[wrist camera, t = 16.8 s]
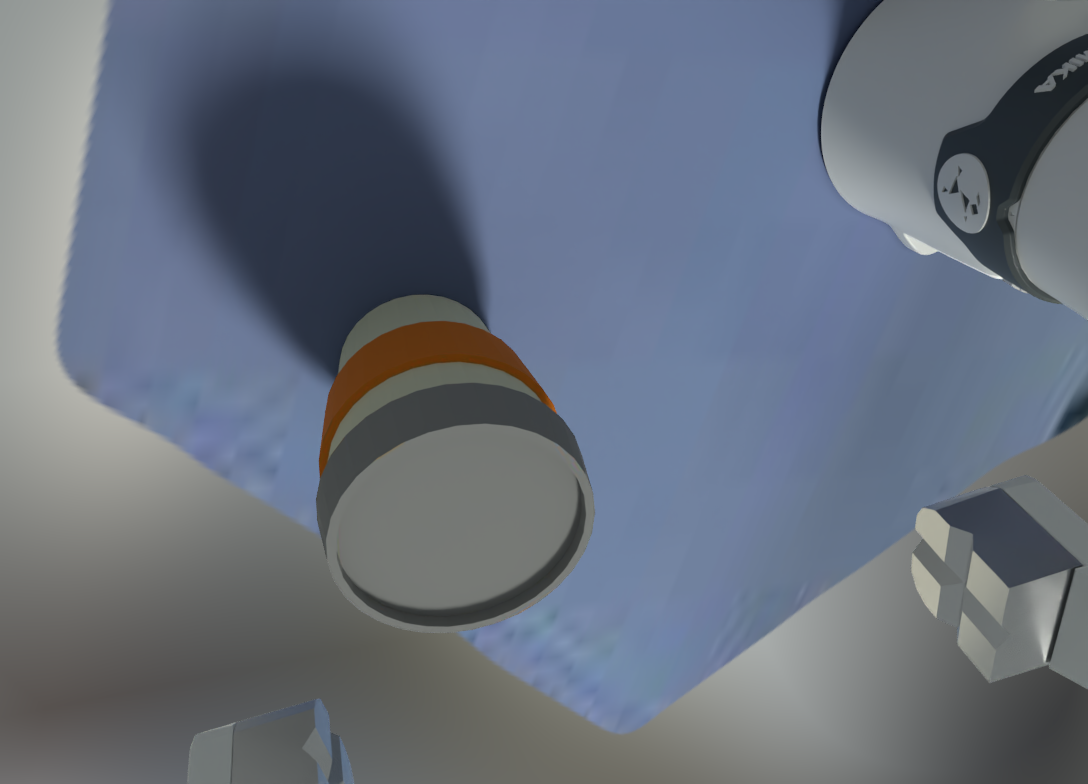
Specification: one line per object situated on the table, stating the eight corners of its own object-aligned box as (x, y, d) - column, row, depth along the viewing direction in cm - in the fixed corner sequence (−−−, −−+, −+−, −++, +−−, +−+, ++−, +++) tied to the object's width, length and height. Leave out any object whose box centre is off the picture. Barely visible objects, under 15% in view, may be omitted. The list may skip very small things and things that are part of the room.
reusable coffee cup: (541, 271, 51) (628, 419, 39) (506, 452, 57) (571, 629, 45) (311, 256, 47) (327, 415, 35) (301, 453, 53) (311, 646, 41)
